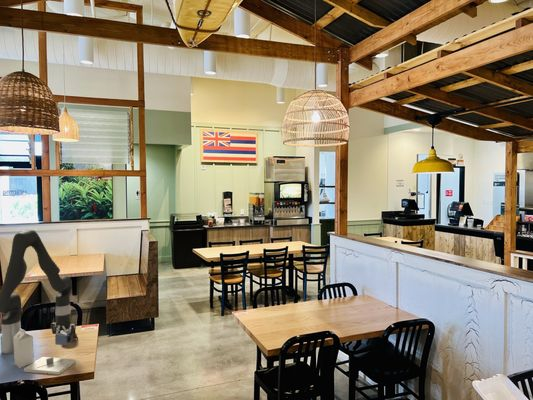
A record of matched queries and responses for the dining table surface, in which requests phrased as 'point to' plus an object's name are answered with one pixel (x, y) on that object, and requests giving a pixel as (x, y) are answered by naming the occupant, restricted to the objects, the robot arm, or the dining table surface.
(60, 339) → the blue-grey block
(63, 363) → the shaft plate
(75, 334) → the dark brown rounded lump
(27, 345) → the milk carton
